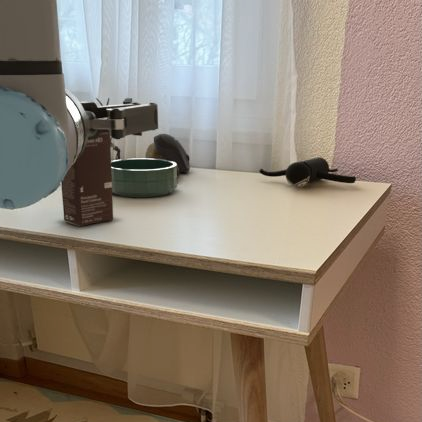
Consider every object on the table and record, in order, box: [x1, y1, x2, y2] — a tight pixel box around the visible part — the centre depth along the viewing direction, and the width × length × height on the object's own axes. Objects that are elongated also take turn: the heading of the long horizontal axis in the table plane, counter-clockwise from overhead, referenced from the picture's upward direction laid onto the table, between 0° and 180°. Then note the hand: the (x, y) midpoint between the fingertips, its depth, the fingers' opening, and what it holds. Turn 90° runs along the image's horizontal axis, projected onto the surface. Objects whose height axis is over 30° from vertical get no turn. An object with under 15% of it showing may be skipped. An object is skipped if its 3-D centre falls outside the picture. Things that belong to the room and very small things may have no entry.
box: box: [60, 133, 114, 227], centre depth 84 cm, size 6×4×12 cm
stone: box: [144, 142, 166, 160], centre depth 126 cm, size 6×9×5 cm, turn 145°
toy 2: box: [258, 157, 357, 188], centre depth 112 cm, size 18×4×15 cm
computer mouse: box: [153, 133, 191, 173], centre depth 120 cm, size 6×9×4 cm
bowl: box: [111, 158, 178, 198], centre depth 104 cm, size 12×12×4 cm
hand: (71, 110), depth 71 cm, fingers open, 13 cm apart
